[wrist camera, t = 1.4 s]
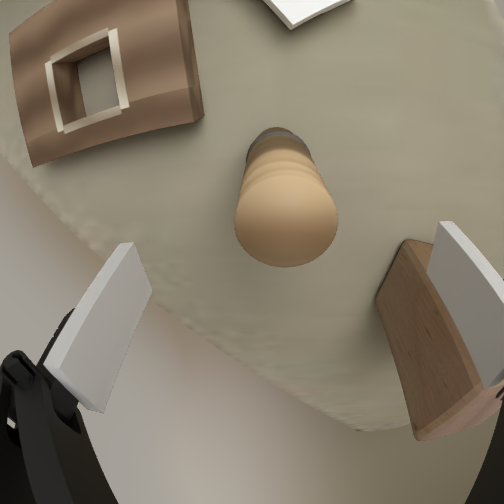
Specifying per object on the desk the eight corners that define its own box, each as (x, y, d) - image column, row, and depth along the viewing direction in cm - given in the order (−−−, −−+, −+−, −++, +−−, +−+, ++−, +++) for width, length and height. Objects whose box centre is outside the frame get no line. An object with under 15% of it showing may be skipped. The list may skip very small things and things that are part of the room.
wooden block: (370, 299, 34) (411, 446, 18) (402, 234, 29) (486, 391, 12) (427, 305, 35) (476, 427, 18) (461, 248, 29) (540, 373, 13)
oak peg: (246, 125, 23) (223, 179, 12) (302, 121, 23) (341, 170, 11) (252, 177, 26) (240, 271, 15) (306, 173, 26) (337, 265, 14)
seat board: (33, 32, 16) (8, 33, 13) (183, -37, 14) (169, -52, 11) (54, 155, 25) (32, 168, 21) (204, 115, 23) (193, 122, 20)
